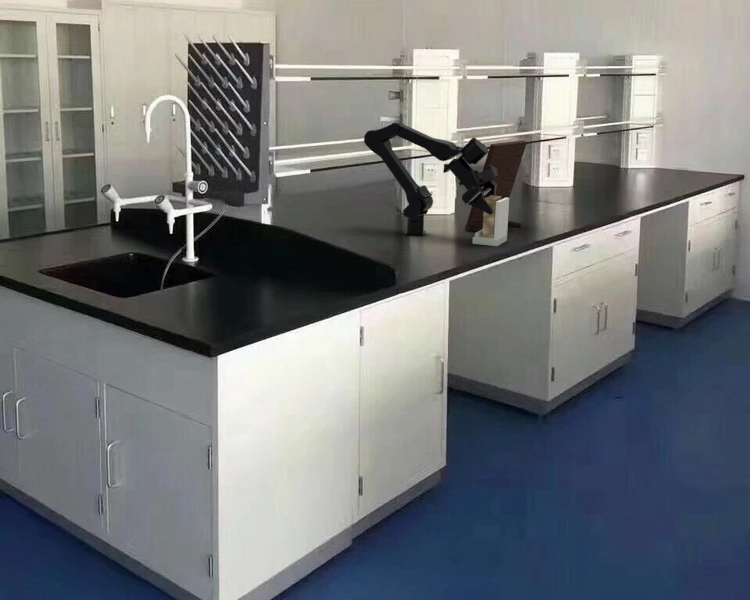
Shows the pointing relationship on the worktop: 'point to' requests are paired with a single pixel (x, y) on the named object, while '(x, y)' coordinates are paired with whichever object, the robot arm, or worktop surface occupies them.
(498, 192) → the picture frame
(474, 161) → the robot arm
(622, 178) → the worktop surface
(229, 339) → the worktop surface
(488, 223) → the oak photo frame
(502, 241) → the picture ledge
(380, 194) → the worktop surface
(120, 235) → the worktop surface
